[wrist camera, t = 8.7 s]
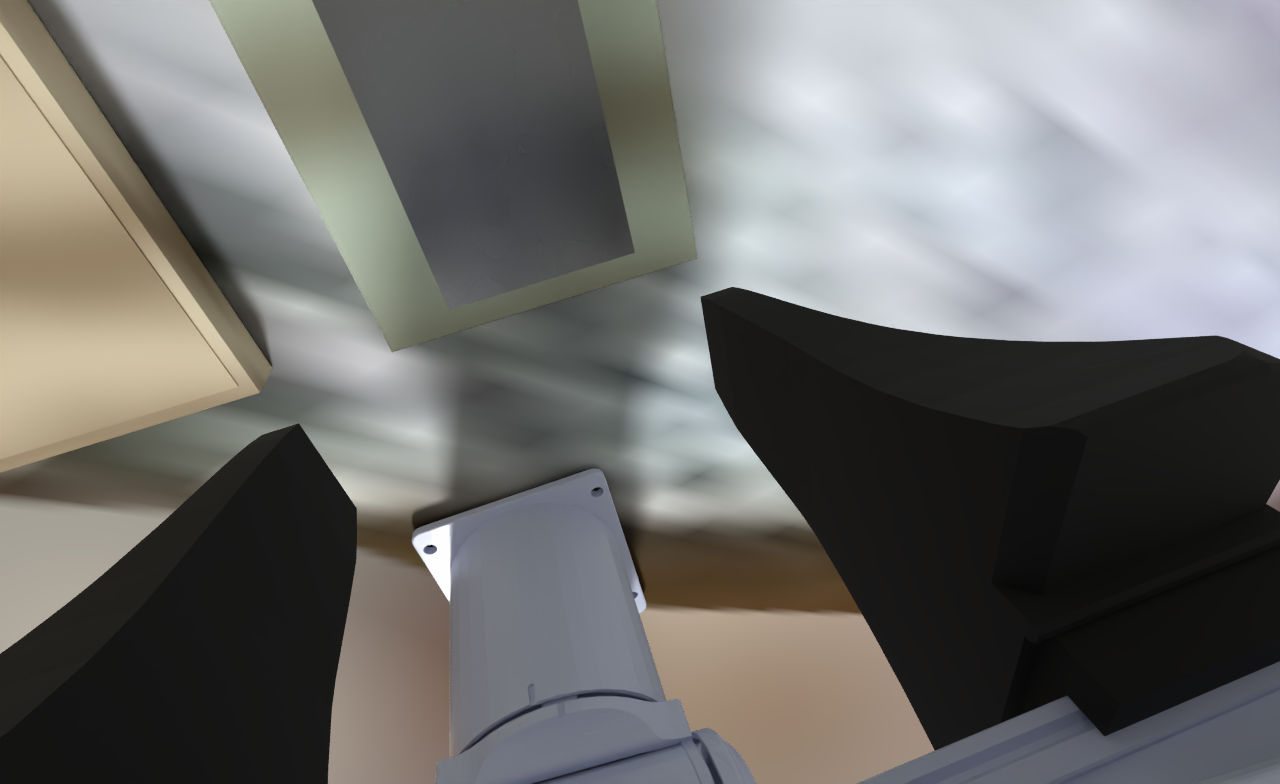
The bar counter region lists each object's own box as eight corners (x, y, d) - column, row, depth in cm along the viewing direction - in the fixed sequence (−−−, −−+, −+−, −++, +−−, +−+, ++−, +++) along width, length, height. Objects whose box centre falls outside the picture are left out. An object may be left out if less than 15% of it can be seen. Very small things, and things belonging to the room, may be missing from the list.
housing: (595, 202, 17) (635, 252, 14) (449, 246, 17) (448, 309, 13) (519, -98, 14) (545, -144, 10) (326, -53, 13) (276, -82, 9)
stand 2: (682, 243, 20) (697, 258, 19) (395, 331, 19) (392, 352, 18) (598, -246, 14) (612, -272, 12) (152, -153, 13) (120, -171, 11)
